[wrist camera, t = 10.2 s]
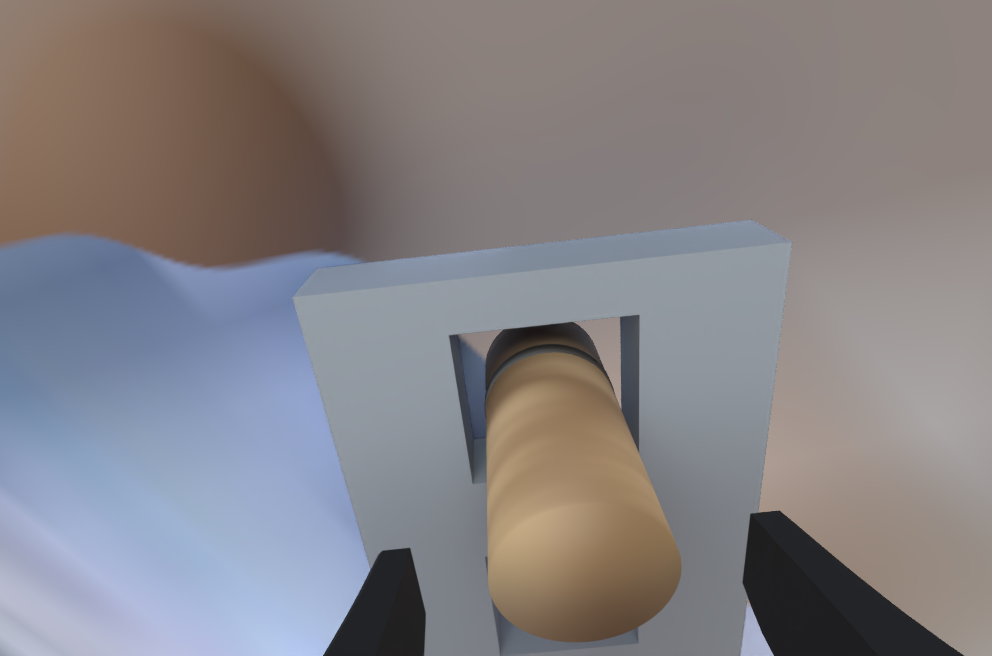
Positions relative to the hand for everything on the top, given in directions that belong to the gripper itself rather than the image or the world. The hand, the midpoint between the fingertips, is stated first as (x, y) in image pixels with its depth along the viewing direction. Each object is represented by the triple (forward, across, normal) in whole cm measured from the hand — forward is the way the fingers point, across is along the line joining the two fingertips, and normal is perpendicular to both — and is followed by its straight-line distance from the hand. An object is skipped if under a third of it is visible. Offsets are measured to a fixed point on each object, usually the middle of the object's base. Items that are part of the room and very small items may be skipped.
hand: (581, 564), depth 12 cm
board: (+9, 0, +4) cm, 10 cm away
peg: (+9, 0, 0) cm, 9 cm away
